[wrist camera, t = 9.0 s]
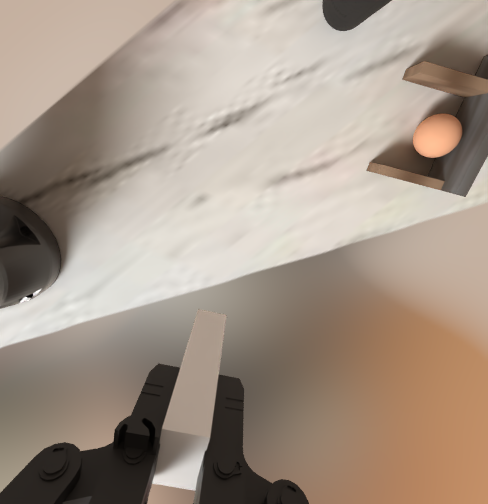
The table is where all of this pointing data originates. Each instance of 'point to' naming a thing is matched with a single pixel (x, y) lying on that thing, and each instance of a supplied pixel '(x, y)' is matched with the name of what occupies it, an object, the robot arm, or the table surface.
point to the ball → (437, 135)
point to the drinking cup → (350, 12)
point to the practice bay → (472, 121)
